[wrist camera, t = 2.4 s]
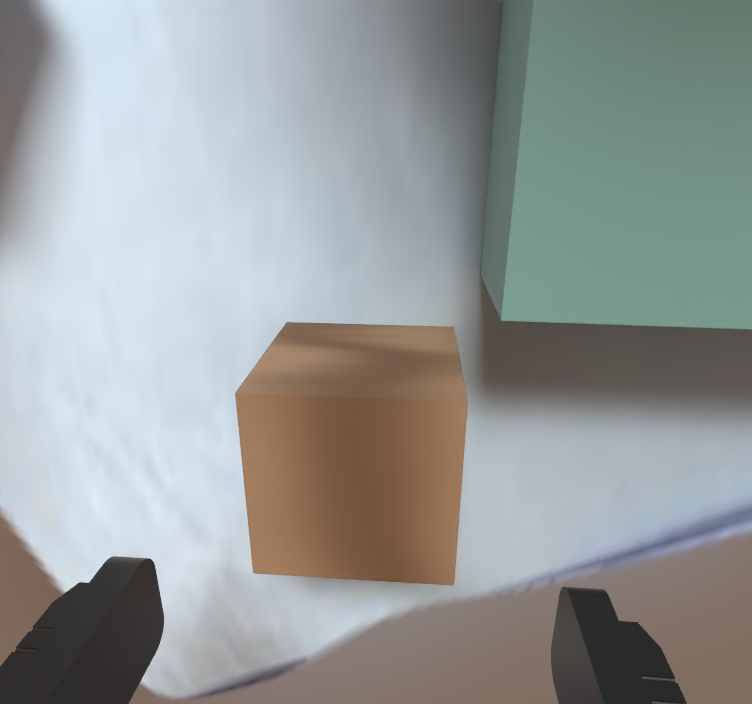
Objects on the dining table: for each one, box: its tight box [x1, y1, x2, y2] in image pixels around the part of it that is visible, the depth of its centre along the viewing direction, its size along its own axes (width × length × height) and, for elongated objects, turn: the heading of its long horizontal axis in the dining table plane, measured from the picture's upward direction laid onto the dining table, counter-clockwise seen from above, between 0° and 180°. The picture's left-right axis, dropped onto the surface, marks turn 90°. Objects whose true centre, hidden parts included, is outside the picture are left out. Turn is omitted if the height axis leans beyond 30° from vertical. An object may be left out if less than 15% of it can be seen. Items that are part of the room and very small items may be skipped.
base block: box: [480, 0, 752, 329], centre depth 13 cm, size 10×10×5 cm
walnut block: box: [235, 322, 468, 585], centre depth 16 cm, size 6×6×6 cm
